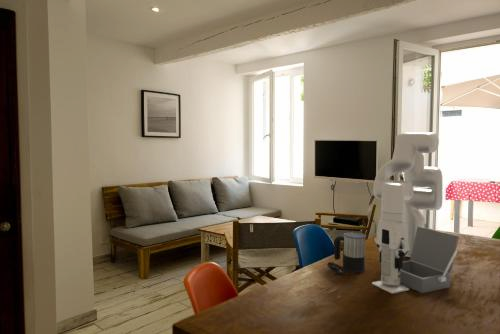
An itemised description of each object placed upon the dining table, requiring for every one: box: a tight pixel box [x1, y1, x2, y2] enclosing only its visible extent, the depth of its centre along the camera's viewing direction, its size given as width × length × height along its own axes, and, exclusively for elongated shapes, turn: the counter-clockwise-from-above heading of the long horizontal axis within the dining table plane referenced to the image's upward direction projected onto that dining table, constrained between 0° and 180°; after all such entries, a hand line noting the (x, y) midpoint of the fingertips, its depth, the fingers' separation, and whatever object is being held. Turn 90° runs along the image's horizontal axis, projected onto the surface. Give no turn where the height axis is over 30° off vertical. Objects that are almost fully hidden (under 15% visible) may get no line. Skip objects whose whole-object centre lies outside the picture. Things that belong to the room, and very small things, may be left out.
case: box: [400, 227, 460, 294], centre depth 143 cm, size 19×18×19 cm
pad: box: [371, 280, 410, 294], centre depth 138 cm, size 10×8×1 cm
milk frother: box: [327, 231, 367, 275], centre depth 155 cm, size 14×16×15 cm
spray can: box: [380, 229, 401, 286], centre depth 137 cm, size 7×7×20 cm
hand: (390, 264), depth 137 cm, fingers closed on spray can, 6 cm apart
